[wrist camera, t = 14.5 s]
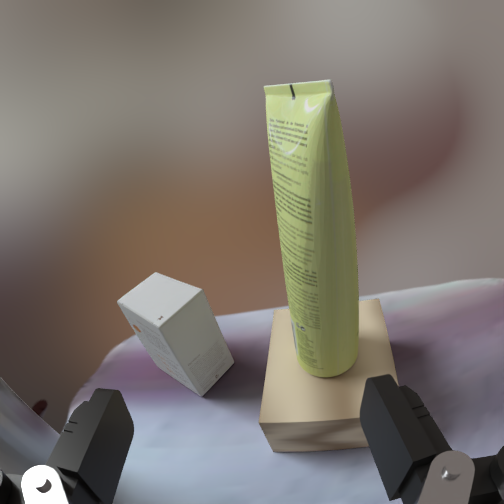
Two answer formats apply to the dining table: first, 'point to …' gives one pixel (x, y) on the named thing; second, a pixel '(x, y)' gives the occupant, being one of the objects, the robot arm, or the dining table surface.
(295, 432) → the birch block
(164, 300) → the small box
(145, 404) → the dining table surface
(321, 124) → the tube
